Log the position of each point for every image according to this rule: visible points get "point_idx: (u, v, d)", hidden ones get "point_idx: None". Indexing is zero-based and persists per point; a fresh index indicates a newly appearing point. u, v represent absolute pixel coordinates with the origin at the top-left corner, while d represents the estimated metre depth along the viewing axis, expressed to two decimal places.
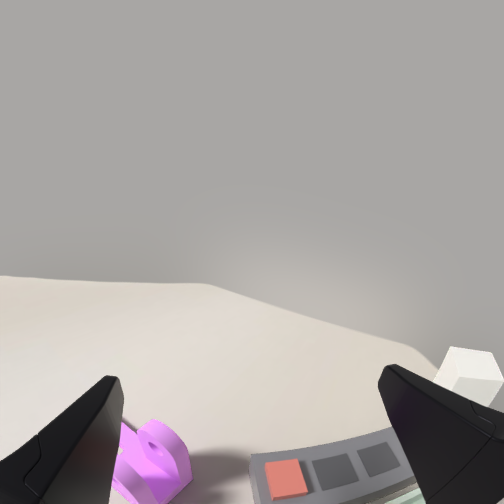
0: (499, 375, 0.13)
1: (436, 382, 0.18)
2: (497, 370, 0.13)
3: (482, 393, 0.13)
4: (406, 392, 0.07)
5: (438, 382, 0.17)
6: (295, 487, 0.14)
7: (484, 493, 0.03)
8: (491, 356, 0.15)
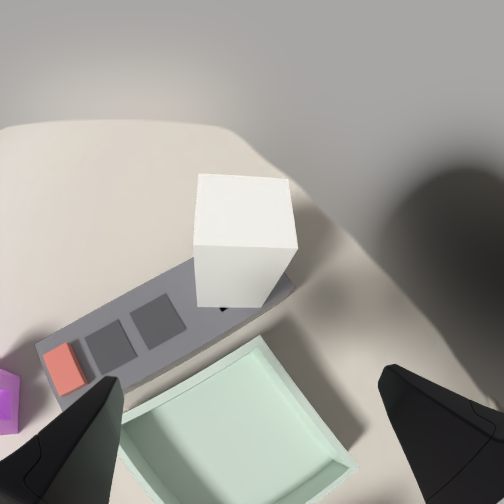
0: (289, 234, 0.13)
1: None
2: (288, 222, 0.13)
3: (259, 260, 0.13)
4: (406, 392, 0.07)
5: None
6: (72, 381, 0.15)
7: (484, 493, 0.03)
8: (284, 188, 0.14)
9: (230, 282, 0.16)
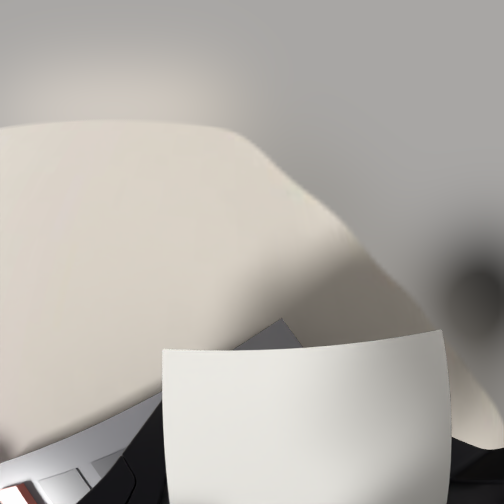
0: (436, 501, 0.02)
1: None
2: (440, 471, 0.03)
3: None
4: None
5: None
6: None
7: None
8: (438, 366, 0.04)
9: None
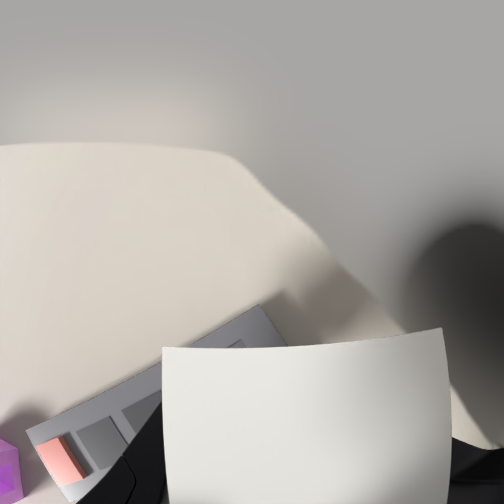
0: (436, 500, 0.02)
1: None
2: (440, 470, 0.03)
3: None
4: None
5: None
6: (70, 475, 0.11)
7: None
8: (438, 365, 0.04)
9: None
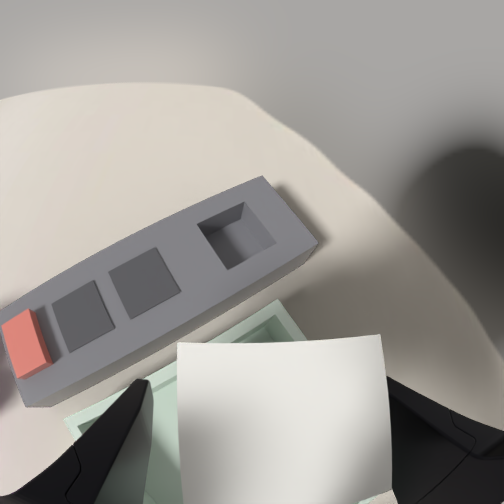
0: (381, 470, 0.04)
1: None
2: (381, 444, 0.05)
3: None
4: None
5: None
6: (32, 358, 0.10)
7: None
8: (376, 361, 0.06)
9: None
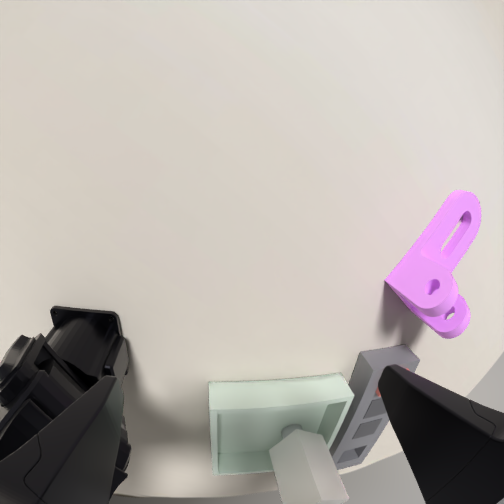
0: None
1: (334, 475, 0.20)
2: None
3: (294, 502, 0.17)
4: (406, 392, 0.07)
5: (333, 476, 0.19)
6: None
7: (484, 493, 0.03)
8: None
9: (295, 474, 0.20)
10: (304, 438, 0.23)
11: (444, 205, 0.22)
